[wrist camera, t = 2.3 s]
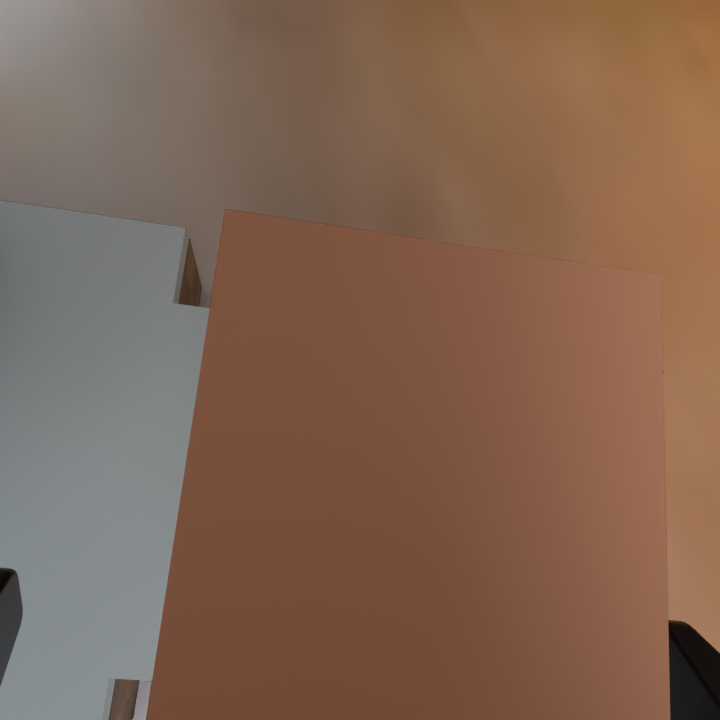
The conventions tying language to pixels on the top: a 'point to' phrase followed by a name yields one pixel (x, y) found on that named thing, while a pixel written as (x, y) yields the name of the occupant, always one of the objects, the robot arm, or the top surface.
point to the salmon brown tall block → (419, 487)
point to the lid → (90, 447)
